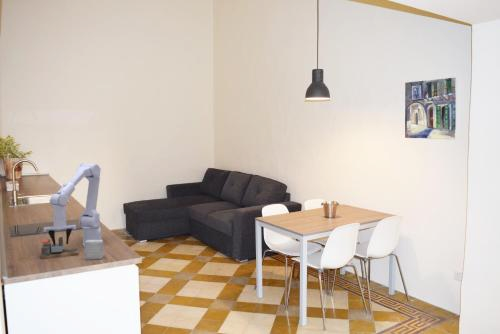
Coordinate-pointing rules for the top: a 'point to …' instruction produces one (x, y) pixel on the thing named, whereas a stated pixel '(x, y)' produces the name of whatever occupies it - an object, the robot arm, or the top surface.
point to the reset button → (46, 241)
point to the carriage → (58, 246)
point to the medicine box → (93, 249)
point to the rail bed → (66, 252)
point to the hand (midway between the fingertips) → (60, 244)
